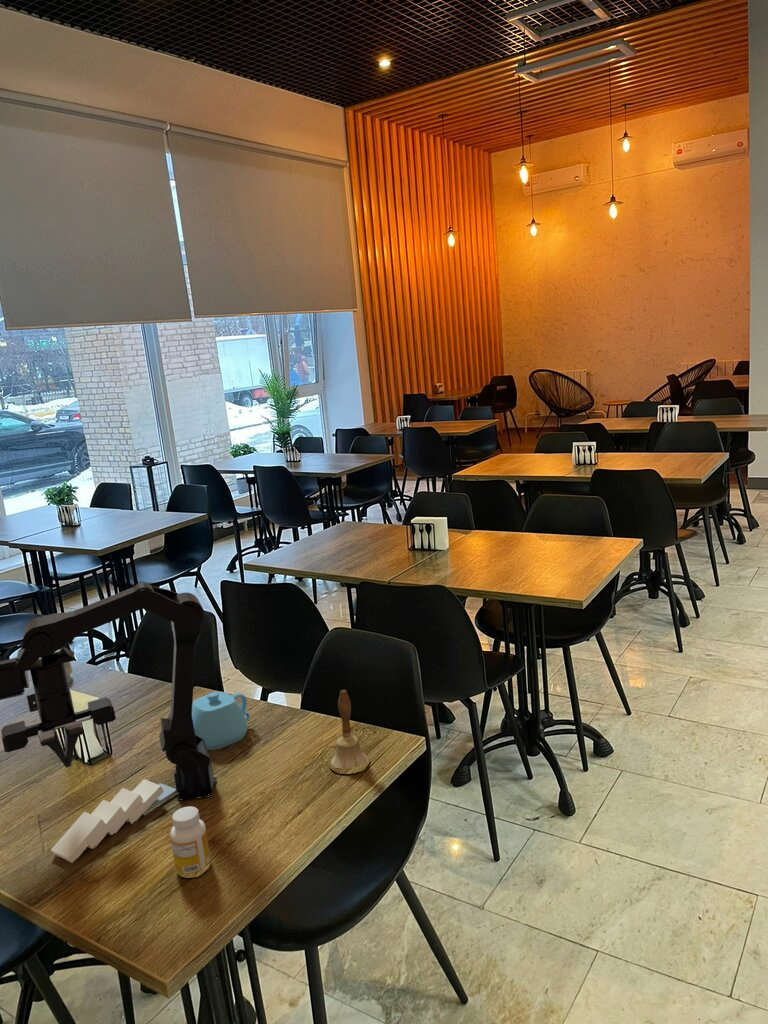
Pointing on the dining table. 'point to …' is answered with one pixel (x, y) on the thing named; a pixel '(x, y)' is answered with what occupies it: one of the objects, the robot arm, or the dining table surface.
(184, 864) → the supplement bottle
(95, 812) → the domino
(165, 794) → the domino
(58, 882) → the dining table surface
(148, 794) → the domino
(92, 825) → the domino
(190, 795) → the robot arm
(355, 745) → the hand bell
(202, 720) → the teapot
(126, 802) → the domino
